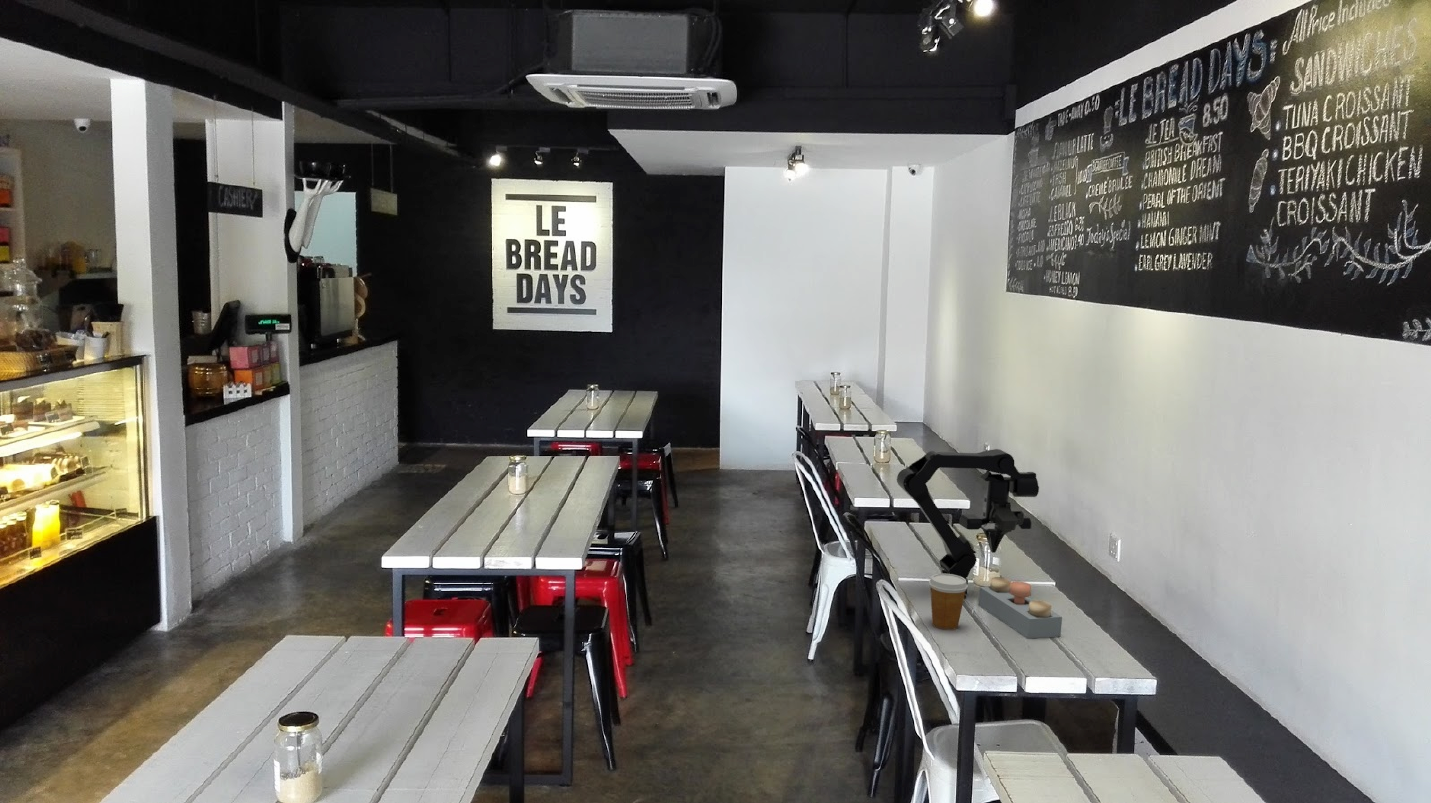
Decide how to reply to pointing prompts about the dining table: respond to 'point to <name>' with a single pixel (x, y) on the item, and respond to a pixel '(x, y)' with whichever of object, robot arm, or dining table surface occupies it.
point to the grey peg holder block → (1019, 614)
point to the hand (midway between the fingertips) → (993, 552)
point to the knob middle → (1020, 591)
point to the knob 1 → (1000, 584)
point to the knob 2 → (1040, 608)
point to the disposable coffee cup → (947, 599)
